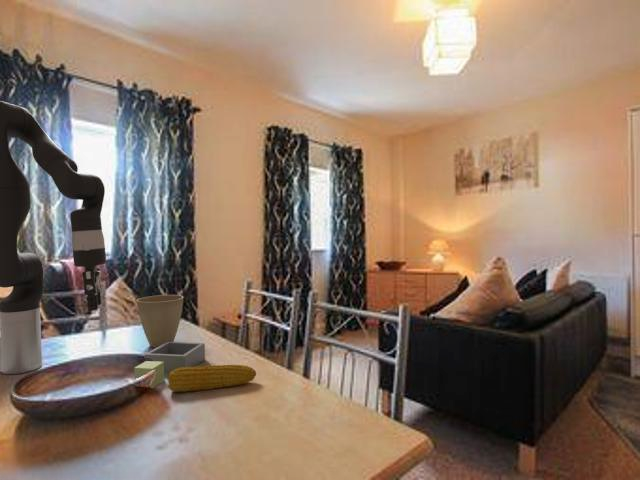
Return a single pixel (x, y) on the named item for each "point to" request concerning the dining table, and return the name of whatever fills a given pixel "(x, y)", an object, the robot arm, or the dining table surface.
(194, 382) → the food
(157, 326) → the plant pot
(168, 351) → the bin
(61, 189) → the robot arm
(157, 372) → the green block
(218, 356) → the dining table surface
